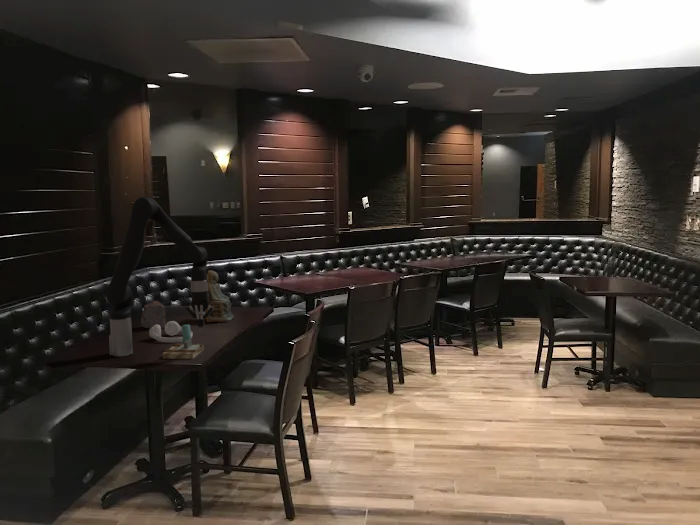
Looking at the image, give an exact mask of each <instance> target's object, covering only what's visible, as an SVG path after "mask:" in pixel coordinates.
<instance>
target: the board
mask: <svg viewBox="0 0 700 525" xmlns="http://www.w3.org/2000/svg"><path fill="white" fill-rule="evenodd" d="M181 345H184V344H183V343H172V346H171V347H170V348H168V349H167V348H166V349H164V352H163V353H162V359H168V360H169V359H170V360H171V359H172V360H173V359H175V360H177V359H178V360H179V359H180V360H186V359H187V360H188V359H190V360H192V359H193V360H194V358H196V357H197V356H198V355H200V354H201V353H202V352H203V351H204V350H205V345H204V344H202V343H192V345H200V347H199V348H197V349H196V350H187V349H177V348H179V347H180V346H181Z"/></svg>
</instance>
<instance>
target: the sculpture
mask: <svg viewBox="0 0 700 525" xmlns="http://www.w3.org/2000/svg"><path fill="white" fill-rule="evenodd" d="M218 281H219V275H218V272H216V271H214V270H208V271H207V284H208V301H209V305H211V306H212V307H214V309H213V310H212V312H211V313H210V315H209V316H208V317H207V318H205V319H206V323H207V322H227V321H231V320H232V318H233V319H234V318H235V316H234V315H233V313H232V310H231V309H232V307H231V305H232V304H231V300H230V297H229V296H228V295H225V294H223V292H222V290H221V288H220V286H219V284H218ZM205 312H206V313H207V312H208V308H207V309H206V311H205ZM232 321H233V320H232ZM232 321H231V322H232ZM227 323H228V322H227Z"/></svg>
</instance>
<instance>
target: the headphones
mask: <svg viewBox="0 0 700 525" xmlns="http://www.w3.org/2000/svg"><path fill="white" fill-rule="evenodd" d="M148 332H149V333H148V334H149V337H150V338H151V339H154V340H155V341H157V342H161V343H167V344H168V343H169V344H170V343H172V344H178V343H183V337H182V336H181V337H174V335H175V336H177V335H178V334H179V333H180V332H181V333H182V326H181V325H180V324H179V323H178V322H177V321H175V320H171V321H168V322H167V323H166V325H165V327H164V332H165V333H166V335H168V336H169V337H164V336H162V328H161V327H160V325H154V326H153V327H151V328H149V331H148ZM190 334H191V339H192V338H193V336H194V335H193V331H192V330H190ZM172 336H173V337H172Z"/></svg>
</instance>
